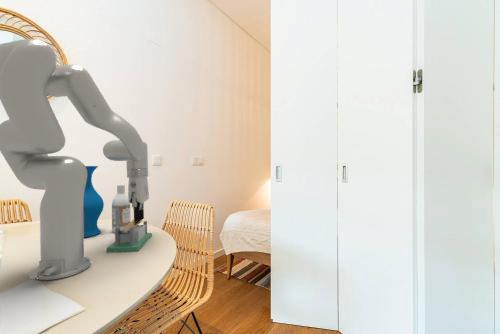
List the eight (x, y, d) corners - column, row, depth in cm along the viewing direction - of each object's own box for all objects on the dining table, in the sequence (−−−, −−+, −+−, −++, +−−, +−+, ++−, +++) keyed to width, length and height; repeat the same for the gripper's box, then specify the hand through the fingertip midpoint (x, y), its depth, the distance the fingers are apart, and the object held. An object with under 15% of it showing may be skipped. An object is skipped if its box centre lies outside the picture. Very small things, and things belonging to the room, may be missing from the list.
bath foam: (119, 234, 99) (119, 185, 99) (108, 232, 102) (107, 185, 102) (133, 229, 106) (133, 184, 105) (122, 227, 108) (122, 183, 108)
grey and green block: (138, 251, 81) (138, 229, 81) (106, 252, 80) (106, 230, 80) (151, 236, 97) (151, 217, 97) (125, 237, 96) (125, 218, 95)
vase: (110, 231, 103) (110, 166, 102) (84, 240, 91) (83, 166, 90) (88, 229, 106) (87, 165, 105) (59, 238, 94) (58, 166, 93)
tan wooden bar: (129, 234, 82) (129, 231, 82) (118, 234, 81) (118, 231, 81) (142, 221, 96) (142, 218, 96) (133, 221, 95) (133, 218, 95)
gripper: (141, 174, 87) (142, 224, 88) (152, 171, 102) (154, 214, 103) (119, 175, 86) (121, 225, 87) (134, 171, 101) (135, 214, 102)
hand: (139, 219), depth 95 cm, fingers closed
